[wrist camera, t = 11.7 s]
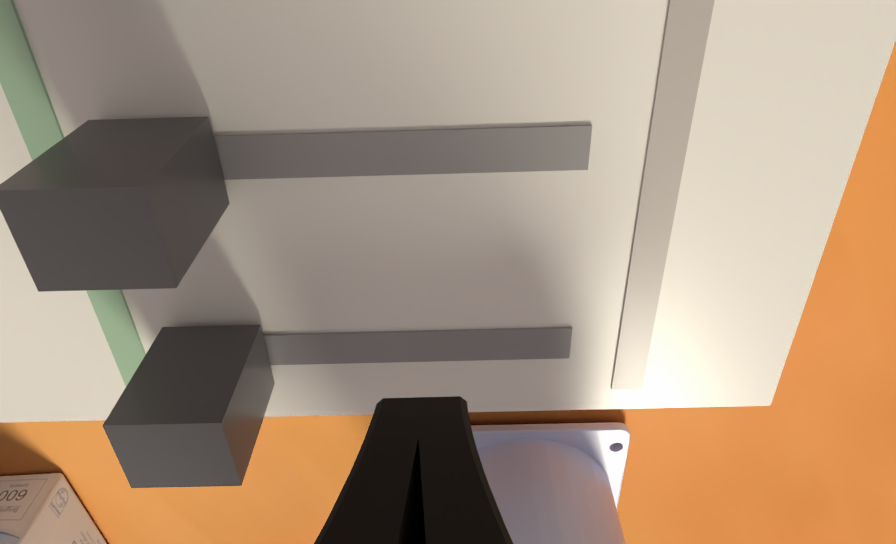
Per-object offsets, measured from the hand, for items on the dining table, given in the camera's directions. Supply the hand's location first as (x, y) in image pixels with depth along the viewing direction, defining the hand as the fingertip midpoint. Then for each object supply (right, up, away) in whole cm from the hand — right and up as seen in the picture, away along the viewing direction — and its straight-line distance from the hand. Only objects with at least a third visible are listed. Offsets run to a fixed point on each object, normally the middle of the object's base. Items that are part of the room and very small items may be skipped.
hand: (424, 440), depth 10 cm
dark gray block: (-7, +6, +6) cm, 11 cm away
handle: (-7, 0, +10) cm, 12 cm away
